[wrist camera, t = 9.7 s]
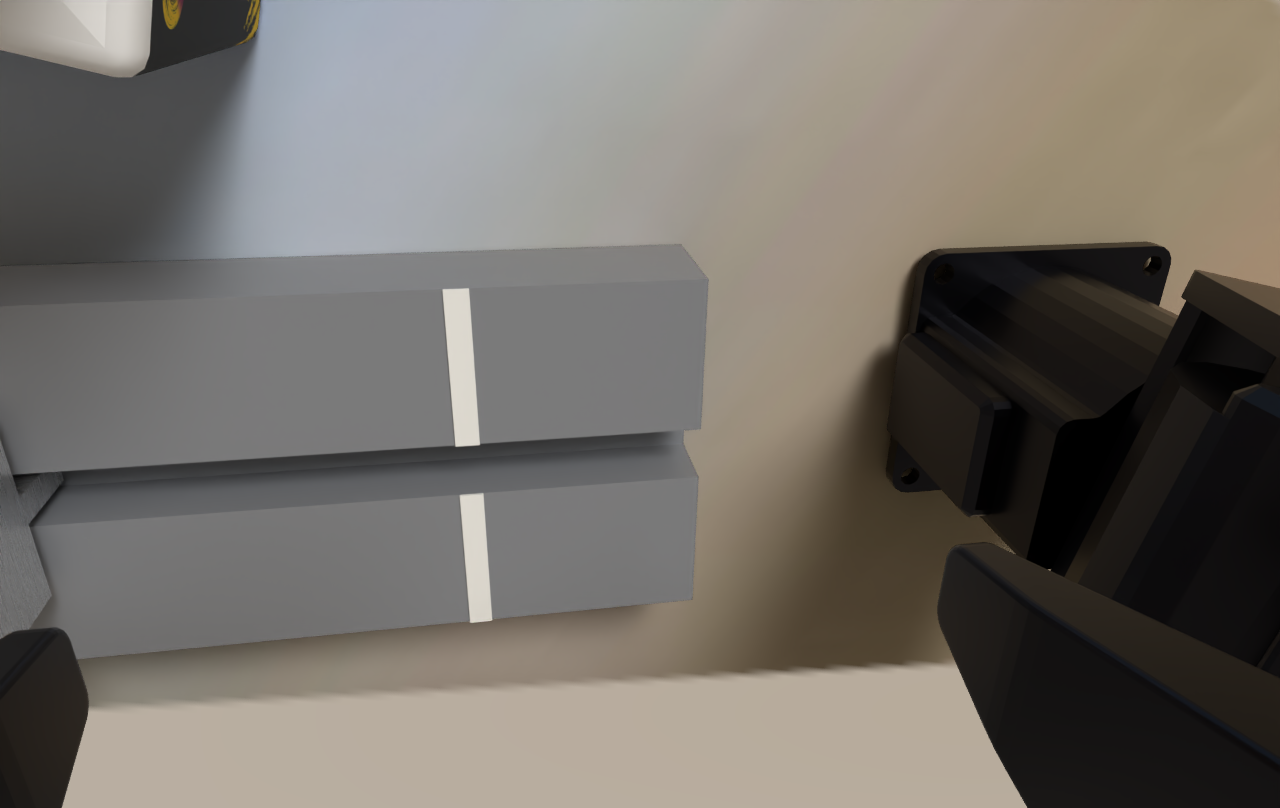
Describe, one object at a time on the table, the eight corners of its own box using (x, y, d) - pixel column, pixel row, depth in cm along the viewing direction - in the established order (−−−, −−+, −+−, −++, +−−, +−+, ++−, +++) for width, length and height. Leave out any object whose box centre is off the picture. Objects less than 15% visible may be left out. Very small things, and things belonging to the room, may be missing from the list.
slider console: (680, 244, 20) (709, 280, 18) (670, 538, 24) (692, 601, 21) (-340, 277, 17) (-470, 325, 15) (-181, 611, 21) (-265, 694, 18)
